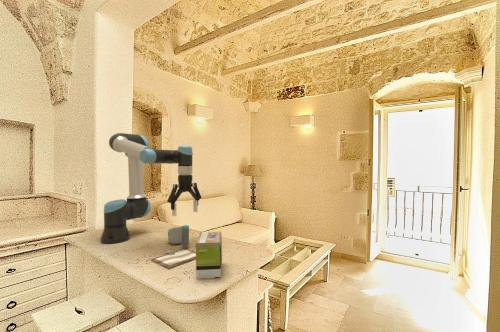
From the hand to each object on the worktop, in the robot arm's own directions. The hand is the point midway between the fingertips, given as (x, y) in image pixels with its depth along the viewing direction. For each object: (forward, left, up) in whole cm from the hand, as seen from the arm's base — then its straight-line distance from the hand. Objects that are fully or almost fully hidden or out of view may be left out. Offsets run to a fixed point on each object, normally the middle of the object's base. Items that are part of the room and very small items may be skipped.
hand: (185, 213), depth 129 cm
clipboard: (+9, -11, -19) cm, 23 cm away
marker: (0, 0, -19) cm, 19 cm away
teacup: (-12, +4, -19) cm, 23 cm away
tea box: (+31, -10, -19) cm, 37 cm away
